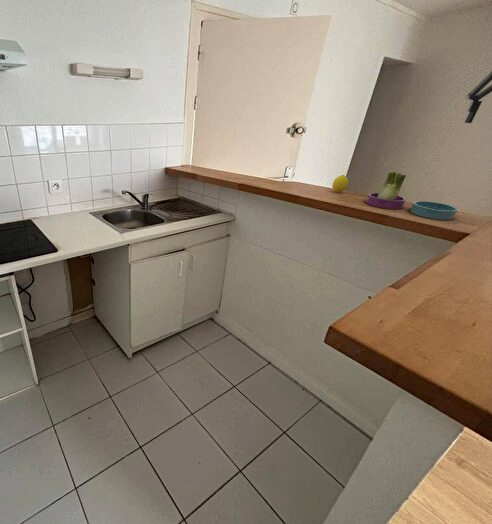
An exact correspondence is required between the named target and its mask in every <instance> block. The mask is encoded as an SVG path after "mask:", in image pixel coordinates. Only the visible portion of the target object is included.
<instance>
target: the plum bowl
mask: <svg viewBox="0 0 492 524" xmlns="http://www.w3.org/2000/svg"><path fill="white" fill-rule="evenodd" d="M378 194H379V192H370V193H369V194H368V195H367V198H366V200H365V203H366V204H368V205H370V206H373V207H376V208H381V209H388V210H400V209H402V208H403V207H404V205H405V203H406V201H407V198H406V197H404V196H401V195H399V194H398V195H397V197H396V199H395V200H385V199H380V198H377V197H378Z"/></svg>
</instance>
